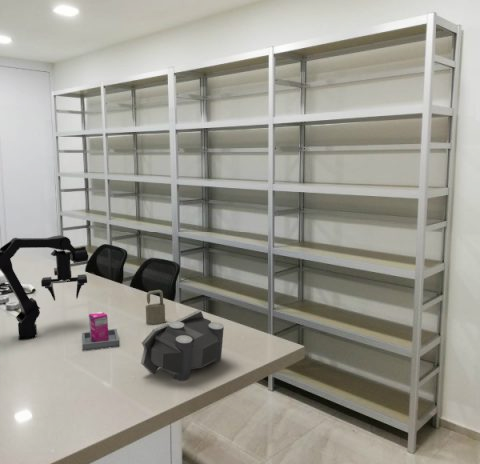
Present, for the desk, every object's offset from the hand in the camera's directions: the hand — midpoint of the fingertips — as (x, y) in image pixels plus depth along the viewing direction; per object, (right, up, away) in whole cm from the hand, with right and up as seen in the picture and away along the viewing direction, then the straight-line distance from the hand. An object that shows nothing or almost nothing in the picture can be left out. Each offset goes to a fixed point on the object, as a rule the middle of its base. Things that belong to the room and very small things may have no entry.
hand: (65, 299), depth 222 cm
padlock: (+38, -12, +8) cm, 41 cm away
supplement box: (+19, -15, -16) cm, 29 cm away
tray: (+19, -15, -16) cm, 29 cm away
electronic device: (+57, -19, -40) cm, 72 cm away
